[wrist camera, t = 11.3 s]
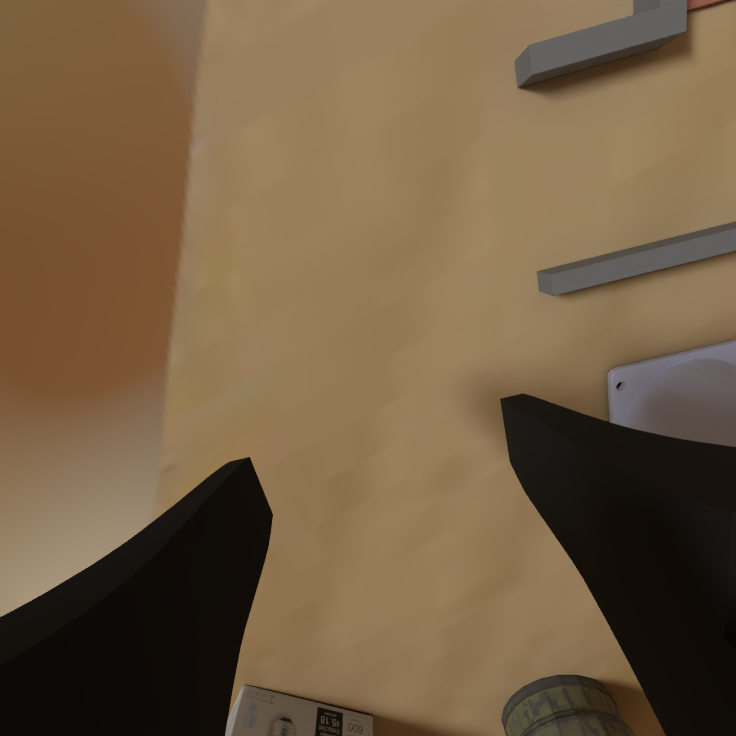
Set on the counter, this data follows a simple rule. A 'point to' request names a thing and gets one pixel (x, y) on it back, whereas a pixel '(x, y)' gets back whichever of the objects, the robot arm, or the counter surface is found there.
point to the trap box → (598, 46)
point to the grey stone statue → (563, 709)
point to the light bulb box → (291, 717)
